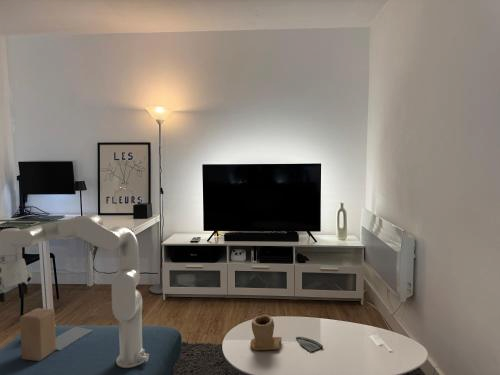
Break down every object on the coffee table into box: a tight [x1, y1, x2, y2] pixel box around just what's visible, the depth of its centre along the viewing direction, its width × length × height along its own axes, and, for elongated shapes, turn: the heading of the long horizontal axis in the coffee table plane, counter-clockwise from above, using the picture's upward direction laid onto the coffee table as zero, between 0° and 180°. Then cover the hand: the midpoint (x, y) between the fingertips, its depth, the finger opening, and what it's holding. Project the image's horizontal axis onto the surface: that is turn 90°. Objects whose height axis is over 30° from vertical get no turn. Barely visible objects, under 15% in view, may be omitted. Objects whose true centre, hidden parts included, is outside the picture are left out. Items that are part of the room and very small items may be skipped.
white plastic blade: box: [368, 334, 393, 353], centre depth 163 cm, size 5×15×1 cm, turn 5°
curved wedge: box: [295, 336, 324, 354], centre depth 163 cm, size 8×14×2 cm, turn 30°
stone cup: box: [250, 314, 283, 351], centre depth 160 cm, size 15×12×15 cm
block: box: [19, 307, 57, 362], centre depth 155 cm, size 10×10×20 cm
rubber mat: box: [55, 326, 94, 352], centre depth 170 cm, size 12×20×1 cm, turn 161°
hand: (13, 297), depth 144 cm, fingers open, 9 cm apart
